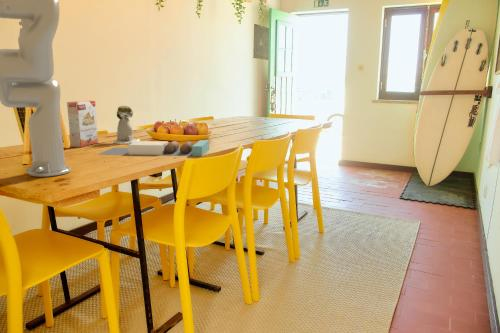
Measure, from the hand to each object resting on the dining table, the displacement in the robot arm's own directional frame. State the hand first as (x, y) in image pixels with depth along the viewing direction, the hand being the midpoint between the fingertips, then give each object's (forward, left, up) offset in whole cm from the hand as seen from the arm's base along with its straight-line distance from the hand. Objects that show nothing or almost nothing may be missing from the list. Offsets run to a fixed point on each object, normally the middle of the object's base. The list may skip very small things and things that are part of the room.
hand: (39, 75), depth 146 cm
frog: (+40, -16, -32) cm, 54 cm away
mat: (+16, -38, -32) cm, 52 cm away
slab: (+14, -36, -32) cm, 50 cm away
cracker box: (+33, +2, -32) cm, 46 cm away
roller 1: (+16, -45, -32) cm, 57 cm away
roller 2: (+16, -53, -31) cm, 64 cm away
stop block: (+16, -58, -32) cm, 68 cm away
